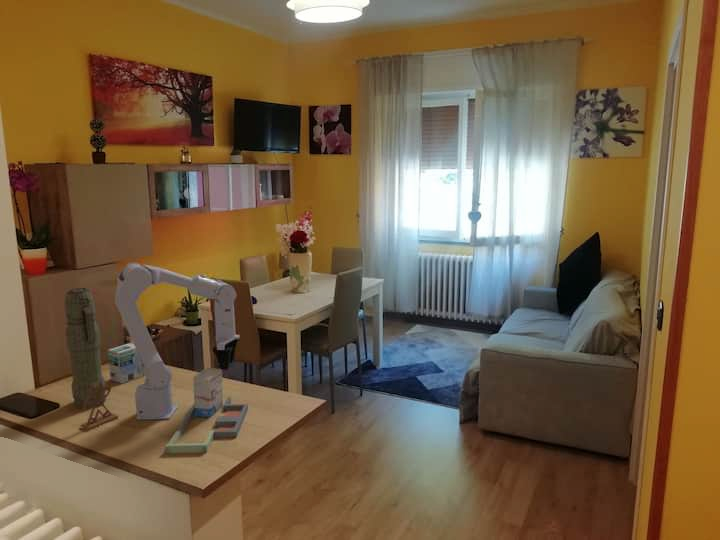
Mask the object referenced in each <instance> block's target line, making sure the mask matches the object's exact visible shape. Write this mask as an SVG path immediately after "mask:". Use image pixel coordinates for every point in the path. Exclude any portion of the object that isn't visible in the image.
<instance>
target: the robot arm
mask: <svg viewBox="0 0 720 540" xmlns="http://www.w3.org/2000/svg"><path fill="white" fill-rule="evenodd" d="M162 283H165V284H170V285H173V286H177V287H181V288H185V289H187V290H188V291H189V294H191V295H194V296H198V297H202V298H205V299H208V300H213V301H214V303H213V304H214V319H215V320H214V322H215V341H216V346H213V347H212V353H214V355H215V357H216V359H217V361H218V364H219V369H222V371H226V370H229V368H230V367H229V366H230V362H231V361H233V362H234V360H235V356H236V350H237V349H236V348H237V345H238V343H239V340H240V334H236V319H235V317H236V316H235V305H234V304H235V303H234V302H235V300H236V298H237V295H238V294H237V292H236V290H235V288H234V287H233V286H232V285H231V284H229V283H226V282H224V281H222V280H221V279H212V278H208V277H207V275H205V274H202V273H200V275H199V274H196V275H193V276H191V277H189V276H186V275H183V274H180V273H177V272H174V271H170V270H168V269H165V268H162V267H158V266H154V265H148V264H143V265H141V264H140V263H137V262H130V263H127V264H126V265H124V267H123V268H122V269H121V271H120V272H119V274H118V275H117V285H116V290H115V295H114V304H115V305H116V308H117V309H118V312H119V315H120V317H121V318H122V320H123V323H124V326H125V328H126V329H127V331H128V334H129V337H130V338H131V340H132V342H133V343H134V345H135V347H136V349H137V352H138V354H139V356H140V360H141V363H142V373H143V375H144V377H145V379H144V380H145V381H144V383H142V384H138V386H137V387H136V389H135V394H134V395H135V396H134V398H135V411H136V417H135V419H136V420H138V421H139V420H140V421H141V420H168V419H171V418H172V416H173V415H174V413H175V412H176V410H177V409H178V407H179V406H178V405H174V404H173V403H174V402H173V393H172V392H173V391H172V378H173V373H172V371H171V369H170V368H169V367H167V366H166V365H165V363H164V361H163V360H162V358H161V356H160V354H159V352H158V351H157V348H156V346H155V344H154V341H153V340H152V337H151V335H150V332H149V330H148V328H147V326H146V323H145V321H144V318H143V316H142V314H141V312H140V310H139V308H138V305H137V301H138V300H139V298H140V296H141V295H142V294H143V293H144V292H145V291H146V290H147V289H148V288H149V287H150V286H151V285H153V286H156V285H159V284H162Z"/></svg>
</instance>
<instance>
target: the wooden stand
mask: <svg viewBox="0 0 720 540" xmlns="http://www.w3.org/2000/svg"><path fill="white" fill-rule="evenodd" d="M96 383H99V384H100V386H97V387H93V385H95V384H96ZM92 387H93V388H92ZM100 387H101V389H99V388H100ZM96 388H98V391H96V392H94V391H92V390H96ZM111 389H112V386H111V385H110V384H105V386H104V387H103V385H102V384H101V383H100V382H94V383H93V384H92V385H91V386H90V389H89V391H90V393H91V394H92V396H89V397H88V398H87V399H86V400H85V402H84V404H83V408H82V409H83V410H85V411H90V410H91V412H90V414H89V416H88V418H87V421H86V422H84V423H81V424H80V428H81V427H83V428H85V429H87V430H90V431H92V430H91V429H93V430H95V429H97V428H100V427H101V426H100V425H102V426H104V425H106V424H105V423H107V424H109V423H112V422H113V421H115V420H118V418H119V417H118V414H114V412H113V413H112V412H110V410H109V409H108V408H107V407H106V406H105V402H104V401H103V399H104V398H106V399H107V397H108V396H109V394H110V393H111ZM102 390H103V391H102ZM105 391H107V392H105ZM92 392H93V393H96V394H93V393H92ZM104 392H105V396H104V397H102V398H101V402H102V404H99V402H98V400H99V398H98V397H101V395H100V394H102V393H104ZM97 393H98V395H97ZM91 397H94V398H95V399H96V400H97V403H96V404H97V406H95V407H94V402H93V401H92V402H90V403H89V404H86V402H87V401H88V400H89V399H90V398H91ZM91 404H92V407H91ZM87 406H88V407H89V408H85V407H87ZM100 407H103V408H104V409H105V412H104V413H102V411H101V410H100V409H98V408H100ZM91 408H92V409H91ZM95 409H97V411H96V413H95V416H94V417H93V415H94V412H95ZM99 414H100V416H99ZM108 422H109V423H108ZM103 424H104V425H103ZM99 426H100V427H99ZM96 427H97V428H96ZM94 428H95V429H94ZM85 429H84V430H85ZM87 430H86V431H87Z"/></svg>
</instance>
